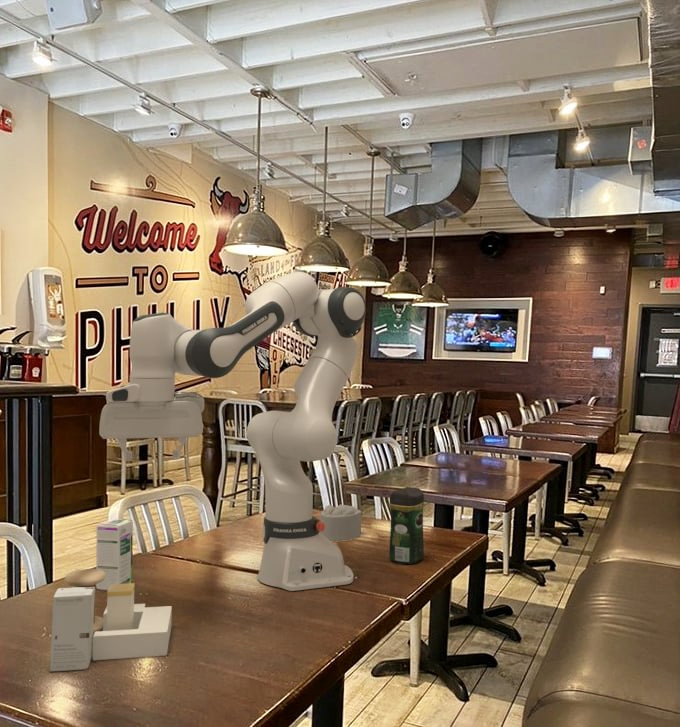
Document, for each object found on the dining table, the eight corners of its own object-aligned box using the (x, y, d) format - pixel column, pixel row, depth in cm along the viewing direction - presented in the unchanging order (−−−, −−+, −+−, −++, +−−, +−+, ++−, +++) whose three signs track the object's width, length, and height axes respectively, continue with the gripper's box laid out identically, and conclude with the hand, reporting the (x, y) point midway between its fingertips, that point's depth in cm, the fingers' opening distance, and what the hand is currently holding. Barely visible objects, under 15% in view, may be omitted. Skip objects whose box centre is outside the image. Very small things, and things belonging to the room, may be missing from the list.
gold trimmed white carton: (133, 638, 116) (134, 583, 116) (130, 648, 112) (131, 590, 112) (109, 639, 115) (110, 584, 115) (106, 649, 111) (107, 592, 111)
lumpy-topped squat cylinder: (365, 534, 190) (365, 505, 191) (340, 544, 180) (340, 513, 180) (337, 529, 196) (337, 501, 197) (311, 538, 186) (311, 508, 186)
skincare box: (49, 673, 102) (50, 597, 102) (54, 660, 106) (56, 587, 107) (89, 669, 104) (91, 594, 104) (94, 657, 108) (95, 585, 108)
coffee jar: (400, 552, 172) (401, 483, 172) (427, 557, 168) (428, 487, 168) (383, 561, 164) (385, 489, 164) (412, 567, 160) (413, 492, 160)
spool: (106, 619, 124) (107, 568, 124) (100, 634, 117) (101, 580, 117) (68, 622, 122) (69, 569, 122) (59, 637, 115) (60, 581, 116)
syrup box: (119, 591, 139) (120, 525, 139) (94, 589, 140) (96, 523, 140) (132, 583, 145) (134, 519, 145) (109, 581, 146) (110, 517, 146)
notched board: (172, 623, 123) (172, 602, 123) (166, 655, 109) (167, 631, 109) (106, 626, 120) (106, 605, 120) (92, 660, 107) (93, 636, 107)
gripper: (204, 390, 135) (204, 456, 135) (102, 391, 131) (103, 458, 131) (204, 392, 129) (204, 460, 129) (97, 393, 125) (97, 463, 125)
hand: (152, 459), depth 130 cm, fingers open, 8 cm apart
